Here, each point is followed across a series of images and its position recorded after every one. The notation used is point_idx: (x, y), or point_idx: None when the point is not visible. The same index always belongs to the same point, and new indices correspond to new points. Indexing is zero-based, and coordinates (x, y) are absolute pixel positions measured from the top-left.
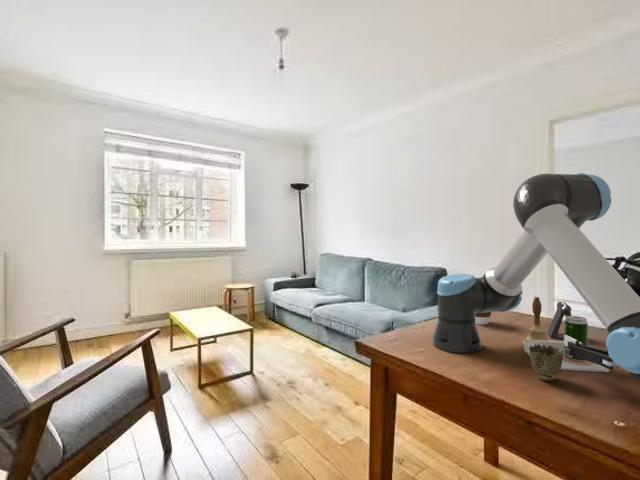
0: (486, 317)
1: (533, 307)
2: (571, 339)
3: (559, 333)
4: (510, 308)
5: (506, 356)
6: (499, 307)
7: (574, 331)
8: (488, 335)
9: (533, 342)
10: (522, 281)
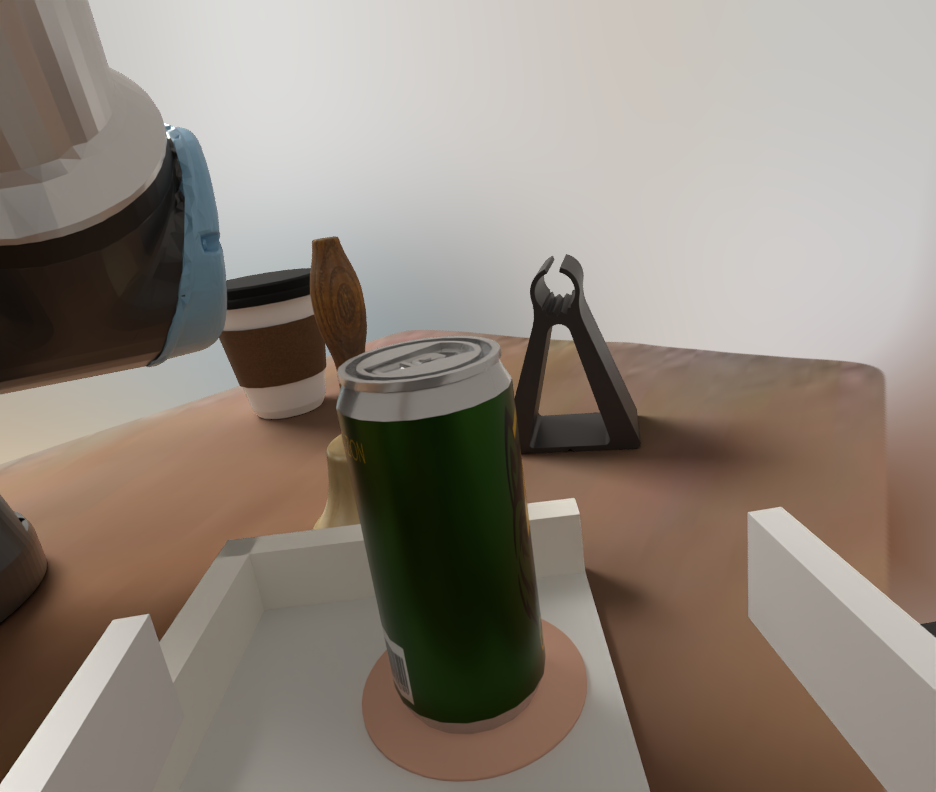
0: (292, 383)
1: (313, 310)
2: (29, 755)
3: (564, 415)
4: (167, 339)
5: (25, 718)
6: (57, 346)
7: (381, 495)
8: (215, 488)
9: (263, 558)
10: (22, 91)
